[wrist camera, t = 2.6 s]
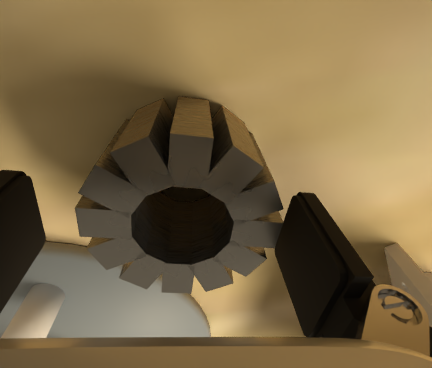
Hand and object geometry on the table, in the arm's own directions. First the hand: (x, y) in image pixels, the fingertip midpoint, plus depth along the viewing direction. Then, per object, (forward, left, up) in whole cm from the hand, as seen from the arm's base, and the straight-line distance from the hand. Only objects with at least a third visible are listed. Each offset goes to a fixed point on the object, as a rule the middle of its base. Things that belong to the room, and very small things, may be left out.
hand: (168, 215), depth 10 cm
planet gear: (-1, 0, -3) cm, 3 cm away
